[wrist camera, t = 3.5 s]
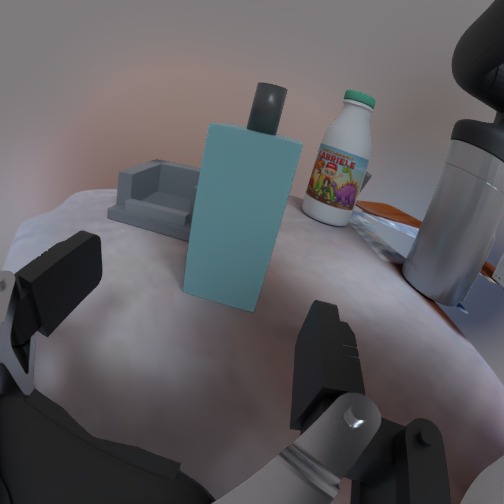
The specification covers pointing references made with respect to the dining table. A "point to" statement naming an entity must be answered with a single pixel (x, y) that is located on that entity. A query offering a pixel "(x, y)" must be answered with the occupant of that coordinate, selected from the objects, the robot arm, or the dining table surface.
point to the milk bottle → (341, 162)
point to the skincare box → (499, 272)
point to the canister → (487, 486)
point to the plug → (240, 203)
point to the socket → (157, 197)
